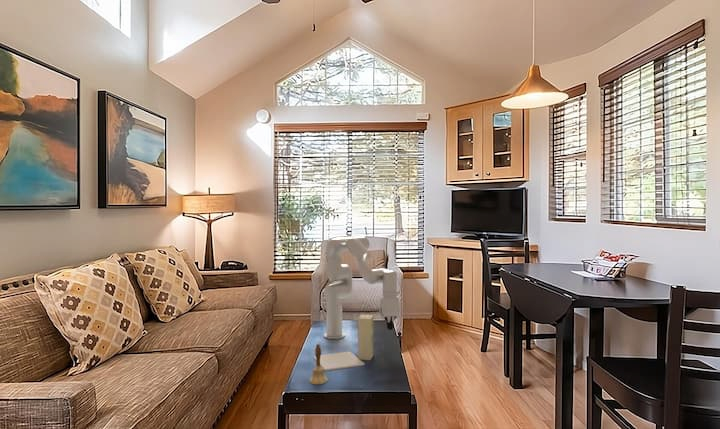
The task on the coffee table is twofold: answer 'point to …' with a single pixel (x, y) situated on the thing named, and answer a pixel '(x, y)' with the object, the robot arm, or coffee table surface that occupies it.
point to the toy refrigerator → (365, 337)
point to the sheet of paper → (339, 361)
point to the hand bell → (318, 369)
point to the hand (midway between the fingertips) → (389, 329)
